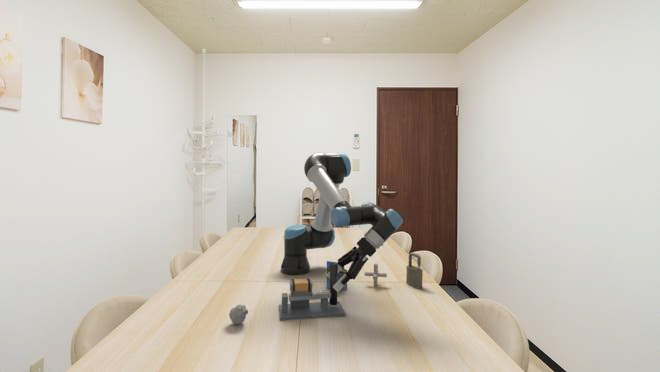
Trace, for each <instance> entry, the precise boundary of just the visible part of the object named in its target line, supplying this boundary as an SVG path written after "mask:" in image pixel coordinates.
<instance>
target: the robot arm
mask: <svg viewBox="0 0 660 372" xmlns="http://www.w3.org/2000/svg"><path fill="white" fill-rule="evenodd" d="M303 169H304V174H305V177H306V178H307V179H308V181H309V183H310V182H311V183H313V184H314V187H315V188H316V190H317V191H318V192H319V198H318V202H317V206H316V207H317V208H316V212H315V217H314V220H312V221H311V222H310V226H309V227H308V226H307V225H306V224H295V225H290V226H288V227H286V228H285V229H284V234H283V235H284V236H283V240H284V241H283V244H284V247H283V248H284V250H283V252H284V255H283V259H282V261H281V262H282V263H281V264H280V265H281V266H280V271H281V273H283V274H286V275H295V276H296V275H304V274H307V273H309V272H310V271H311V264H310V261H309V258H308V255H307V252H308V250H316V249H325V248H328V247H330V246H332V245H333V244H334V241H335V237H336V235H335V234H336V232H335V229H334V227H353V226H361V225H362V226H363V225H364V226H365V225H371V227H370V228H369V229H368V230H367V231H366V232H365V233H364V235H363V237H361V238H360V239H358V241H357V242H356V245H357V246H358V247H357V246H353V247H352V248H351V249H349V251H348V252H346V253H344V255H342V256H340V258H338V259H337V263H338V273H339V271H340V270H341V269H342V268H344V269H345V266H347V265H349V264H350V266H349V267H348V270H347V272H346V273H345V274H344V275H343V276H342V277H341V278H340V280H339V281H338V282H337V283H336V284H335V285H334V286H333V288H334V289H335V290H336V291H337V293H339V292H340V291H342V290H341V289H342V288H343V287H344V286H345V285H346V284H347V285H348V282H350V281H351V280H354V281H355V280H356V279H357V276H358V275H359V273H360V272H361V270H362V268H363V267H364V266H365V264H366V263H367V262H368V260H369V258H370V257H372V256H373V255H374V254H375V253H376V252H377V249H379V248H380V247H383V246H384V244H385V242H386V241H388V239H389V238H390V237H391V236H392V235H393V234H394V233H396V231H397V230H399V228H400V226H402V224H403V222H404V220H403V217H402V216H401V215H400V214H399V213H398V212H397V211H395V210H394V209H393V208H389V209H388V210H386V211H385V210H383V209H382V208H381V207H380V206H378V205H377V204H375V203H373V202H370V201H366V202H364V203H362V204H361V205H357V206H351V204H350V203H349V202H348V200H347V198H345V196H344V195H343V193H342V192H341V191H340V185H341V184H342V183H344V181H345V180H344V179H345V178H347V177H349V176H350V175H351V171H352V164H351V161H350V158H349V156H348V155H347V154H346V153H339V152H316V153H313V154H311V155H310V156H309V157H308V158H307V159H306V161H305V163H304V167H303ZM333 226H334V227H333ZM367 256H368V257H367ZM325 277H326V278H327V277H328V278H329V279H330V272H329V273H328V274H327V273H326V276H325Z"/></svg>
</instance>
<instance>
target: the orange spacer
mask: <svg viewBox="0 0 660 372" xmlns="http://www.w3.org/2000/svg"><path fill="white" fill-rule="evenodd" d="M294 292H308V280H307V279H294Z"/></svg>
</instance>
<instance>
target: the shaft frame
mask: <svg viewBox="0 0 660 372" xmlns="http://www.w3.org/2000/svg"><path fill="white" fill-rule="evenodd" d="M294 279H307V280H308V292H294ZM289 291H290V293H287V292H284V293H282V292H281V304H278V311H279V313H280V314H279V321H292V320H296V321H297V320H306V319H307V320H308V319H309V320H310V319H321V318H325V319H326V318H335V317H336V318H337V317H346V316H347V313H346V311H345V309H344V307H343V306H342V304H341V302H340V300H337V305H330V301H329V299H320V301H319V302H317V301H316V302H310V300H298V301H289V294H291V297H302V296H312V292H313V282H312V280H311V277H309V276H308V277H307V276H306V277H291V278H289ZM289 302H290V303H289Z"/></svg>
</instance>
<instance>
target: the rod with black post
mask: <svg viewBox="0 0 660 372" xmlns="http://www.w3.org/2000/svg"><path fill="white" fill-rule="evenodd" d="M337 263H338V262H337ZM337 263H330V288H329V290H328V291H315V292H313V291H312V296H302V297H291V294H290V293H288V302H290V301H298V300H309V301H311V300H312V301H313V300H321V299H328V300H329V302H330V305H337V301H338V292H337V291H336V290H335V289H334V288H333V286H334V285H335V284H336V283H337V282H338V264H337Z"/></svg>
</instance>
